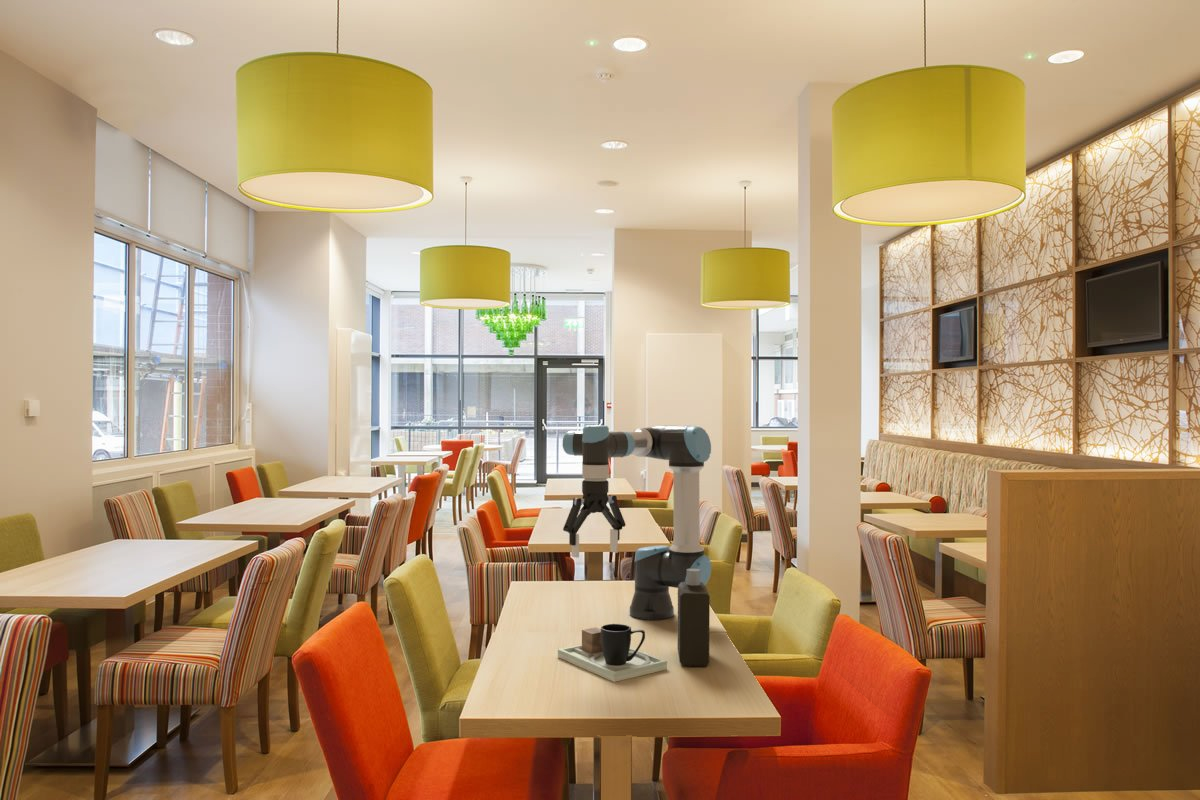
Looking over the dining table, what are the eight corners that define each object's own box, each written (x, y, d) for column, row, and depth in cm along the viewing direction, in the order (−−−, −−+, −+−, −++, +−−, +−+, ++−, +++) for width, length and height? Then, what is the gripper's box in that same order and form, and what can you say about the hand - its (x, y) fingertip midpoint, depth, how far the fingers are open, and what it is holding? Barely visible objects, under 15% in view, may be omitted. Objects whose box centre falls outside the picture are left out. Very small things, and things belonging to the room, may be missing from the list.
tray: (608, 646, 243) (608, 639, 243) (666, 669, 222) (667, 661, 222) (557, 657, 232) (557, 649, 232) (614, 682, 211) (614, 673, 211)
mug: (644, 668, 219) (644, 632, 219) (599, 666, 220) (599, 631, 220) (645, 658, 227) (645, 624, 227) (601, 657, 228) (602, 623, 228)
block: (595, 648, 237) (596, 627, 237) (606, 652, 233) (606, 631, 233) (581, 651, 234) (581, 629, 234) (592, 655, 230) (592, 633, 230)
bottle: (680, 667, 224) (680, 575, 224) (677, 650, 240) (677, 564, 240) (709, 668, 223) (710, 575, 223) (704, 650, 239) (705, 564, 239)
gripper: (621, 476, 244) (621, 548, 244) (551, 480, 230) (550, 556, 229) (637, 478, 238) (637, 552, 238) (566, 482, 224) (565, 560, 223)
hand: (594, 554), depth 234 cm, fingers open, 13 cm apart
